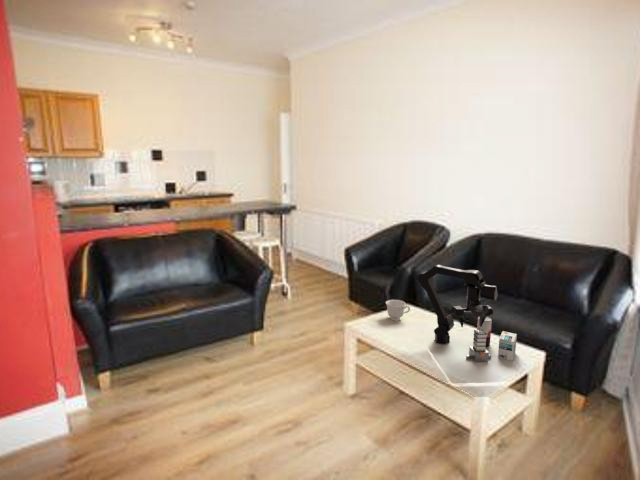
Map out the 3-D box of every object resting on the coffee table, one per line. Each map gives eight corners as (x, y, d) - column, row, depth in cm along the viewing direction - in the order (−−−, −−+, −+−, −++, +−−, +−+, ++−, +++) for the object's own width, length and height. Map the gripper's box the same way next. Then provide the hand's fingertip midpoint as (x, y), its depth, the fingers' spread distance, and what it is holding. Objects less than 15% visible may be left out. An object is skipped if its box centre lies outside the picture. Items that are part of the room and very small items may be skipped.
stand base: (470, 367, 181) (471, 355, 180) (460, 355, 193) (461, 343, 192) (496, 367, 182) (497, 354, 181) (484, 354, 193) (485, 343, 192)
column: (476, 353, 184) (477, 333, 182) (472, 349, 188) (474, 329, 186) (485, 352, 184) (486, 333, 183) (481, 348, 188) (482, 329, 187)
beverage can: (492, 348, 199) (494, 320, 196) (479, 349, 199) (481, 321, 196) (485, 343, 206) (488, 315, 203) (473, 343, 205) (475, 316, 202)
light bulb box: (512, 363, 185) (514, 342, 183) (497, 359, 188) (499, 338, 186) (515, 354, 194) (517, 333, 192) (500, 350, 197) (502, 330, 195)
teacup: (405, 325, 229) (406, 308, 227) (381, 319, 237) (382, 304, 235) (412, 318, 239) (413, 302, 237) (390, 313, 247) (390, 298, 245)
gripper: (460, 302, 183) (458, 334, 186) (500, 301, 184) (497, 333, 187) (452, 294, 194) (450, 324, 197) (489, 294, 195) (487, 323, 198)
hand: (471, 326), depth 195 cm, fingers open, 9 cm apart
